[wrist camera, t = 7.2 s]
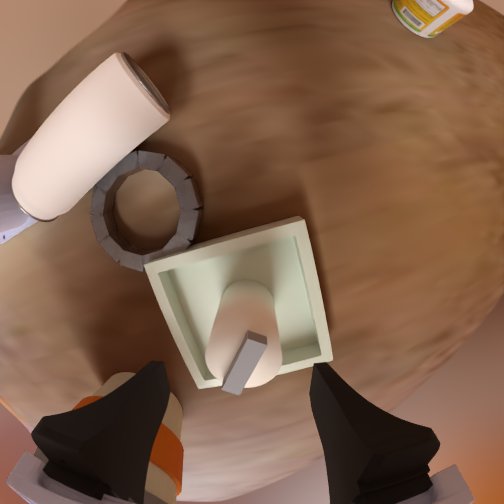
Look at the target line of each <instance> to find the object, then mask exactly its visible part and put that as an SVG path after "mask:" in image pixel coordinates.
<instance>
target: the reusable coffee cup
mask: <svg viewBox="0 0 504 504" xmlns="http://www.w3.org/2000/svg"><path fill="white" fill-rule="evenodd" d="M135 374H136V373H131V372H121V373H117V374H115V375H113V376H111V377H110V378H109V379H108V380H107V381H106V382H105V383H104V384H103V385H102V386H101V387H100V388H99V390H98V391H97V392H96V393H95V394H94V395H93V396H89V397H86V398H84V399H82V400H81V401H80V402H79V403H78V404H77V405H76V406H75V407H74V408H73V409H72V410H75V409H78V408H81V407H83V406H85V405H88V404H90V403H92V402H94V401H96V400H98V399H100V398H102V397H104V396H106V395H107V394H109V393H111V392H112V391H114V390H115V389H116V388H118V387H119V386H121V385H122V384H124V383H125V382H126V381H128V380H129V379H130V378H131V377H133V376H134V375H135ZM72 410H71V411H72ZM182 418H183V411H182V406H181V405H180V403H179V401H178V399H177V398H176V397H175V395H174V394H173V393H172V392H170V397H169V402H168V406H167V409H166V412H165V415H164V417H163V420H162V423H161V425H160V428H159V431H158V433H157V436H156V438H155V441H154V444H153V447H152V452H151V456H150V461H149V466H148V471H147V477H146V484H145V492H144V504H176V496H177V495H179V494H180V493H181V490H182V470H183V453H184V449H183V446H182V444H181V442H180V438H181V427H182ZM34 456H35V457H37V458H39V459H40V460H42V461H43V462H45V463H46V464H47V462H48V459H47V457H46V456H45V455H44V454H43V453H42V451H41V450H40V449H39V448H38V447H37V450H36V452H35V454H34Z"/></svg>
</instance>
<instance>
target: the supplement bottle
mask: <svg viewBox="0 0 504 504" xmlns="http://www.w3.org/2000/svg"><path fill="white" fill-rule="evenodd" d="M392 9H393V12H394V14H395V15H396V17H397V18H398V19H399V21H400V22H401V23H402V24H403V25H404V26H405V27H406V28H408V29H409V30H410V31H412V32H413V33H415V34H417V35H419V36H422V37H425V38H432V37H435V36H436V35H438V34H439V33H441V32H442V31H443V30H445V29H446V28H448V27H449V26H451V25H452V24H454V23H455V22H457V21H458V20H460V19H461V18H463V17H464V16H466V15H467V14H469V13H470V12H471V11H472V10H473V1H472V0H393V2H392Z"/></svg>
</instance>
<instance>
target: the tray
mask: <svg viewBox="0 0 504 504" xmlns="http://www.w3.org/2000/svg"><path fill="white" fill-rule="evenodd" d="M144 267H145V270H146V272H147V275H148V278H149V280H150V283H151V286H152V288H153V291H154V293H155V296H156V298H157V301H158V303H159V306H160V308H161V311H162V313H163V315H164V318H165V320H166V322H167V325H168V327H169V329H170V331H171V334H172V336H173V338H174V340H175V342H176V345H177V347H178V349H179V351H180V353H181V355H182V357H183V359H184V361H185V363H186V365H187V367H188V369H189V371H190V373H191V375H192V377H193V379H194V381H195V383H196V385H197V387H198V389H202V388H209V387H216V386H222V383H223V382H221V381H220V380H218V379H217V378H216V377H215V376H214V375H213V374H212V373H211V372H210V371H209V369H208V367H207V364H206V360H205V353H206V348H207V345H208V341H209V338H210V334H211V331H212V327H213V324H214V320H215V317H216V313H217V310H218V306H219V303H220V300H221V296H222V294H223V292H224V291H225V289H226V288H227V287H228V286H230V285H231V284H233V283H235V282H237V281H240V280H253V281H256V282H259V283H261V284H263V285H264V286H265V287H266V288H267V289H268V290H269V291H270V293H271V294H272V297H273V301H274V306H275V313H276V319H277V325H278V331H279V338H280V344H281V350H282V365H281V368H280V370H279V372H278V373H277V374H276V375H279V374H283V373H287V372H292V371H296V370H299V369H303V368H307V367H311V366H313V365H314V363H321V362H328V361H332V360H333V356H332V350H331V344H330V338H329V332H328V327H327V321H326V316H325V311H324V305H323V300H322V295H321V290H320V285H319V280H318V276H317V271H316V266H315V262H314V257H313V253H312V248H311V244H310V240H309V236H308V231H307V227H306V223H305V220H304V219H303V218H301V217H300V216H295V217H291V218H287V219H284V220H280V221H276V222H272V223H269V224H265V225H261V226H258V227H254V228H250V229H247V230H243V231H240V232H236V233H233V234H229V235H225V236H222V237H218V238H215V239H211V240H208V241H204V242H201V243H197V244H194V245H191V246H189V247H188V248H187V249H186V250H184V251H182V252H178V253H175V254H172V255H168V256H165V257H161V258H158V259H155V260H151V261H148V262H147V263H146V264H144Z"/></svg>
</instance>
